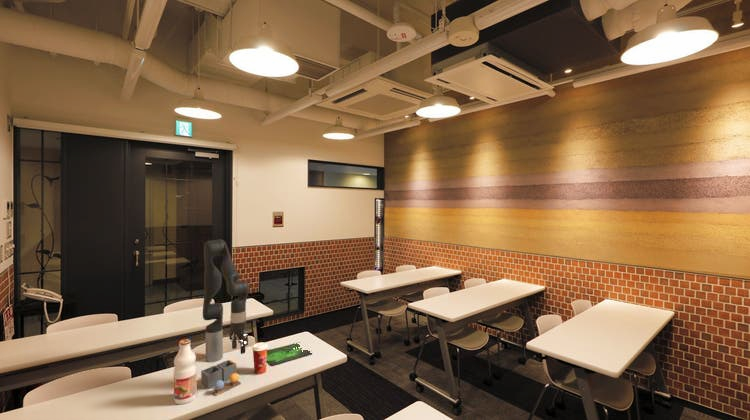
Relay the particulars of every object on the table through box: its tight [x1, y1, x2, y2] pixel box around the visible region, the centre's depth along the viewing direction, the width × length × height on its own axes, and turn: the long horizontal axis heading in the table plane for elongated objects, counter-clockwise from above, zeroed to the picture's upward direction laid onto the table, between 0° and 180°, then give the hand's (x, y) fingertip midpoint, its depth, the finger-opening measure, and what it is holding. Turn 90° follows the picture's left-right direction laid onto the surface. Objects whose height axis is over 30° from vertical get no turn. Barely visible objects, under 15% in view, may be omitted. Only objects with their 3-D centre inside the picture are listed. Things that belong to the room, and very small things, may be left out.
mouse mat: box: [266, 342, 313, 367], centre depth 202 cm, size 27×22×1 cm
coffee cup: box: [251, 341, 269, 375], centre depth 180 cm, size 8×8×15 cm
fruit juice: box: [173, 338, 198, 405], centre depth 155 cm, size 9×9×28 cm
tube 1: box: [200, 365, 222, 390], centre depth 168 cm, size 7×7×7 cm
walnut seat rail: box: [212, 380, 241, 397], centre depth 163 cm, size 3×13×2 cm, turn 144°
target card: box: [211, 379, 231, 390], centre depth 168 cm, size 4×12×1 cm, turn 144°
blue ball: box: [214, 380, 224, 390], centre depth 160 cm, size 4×4×4 cm
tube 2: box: [215, 358, 238, 382], centre depth 175 cm, size 7×7×7 cm
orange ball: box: [230, 372, 240, 383], centre depth 166 cm, size 4×4×4 cm
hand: (238, 350), depth 167 cm, fingers open, 8 cm apart
